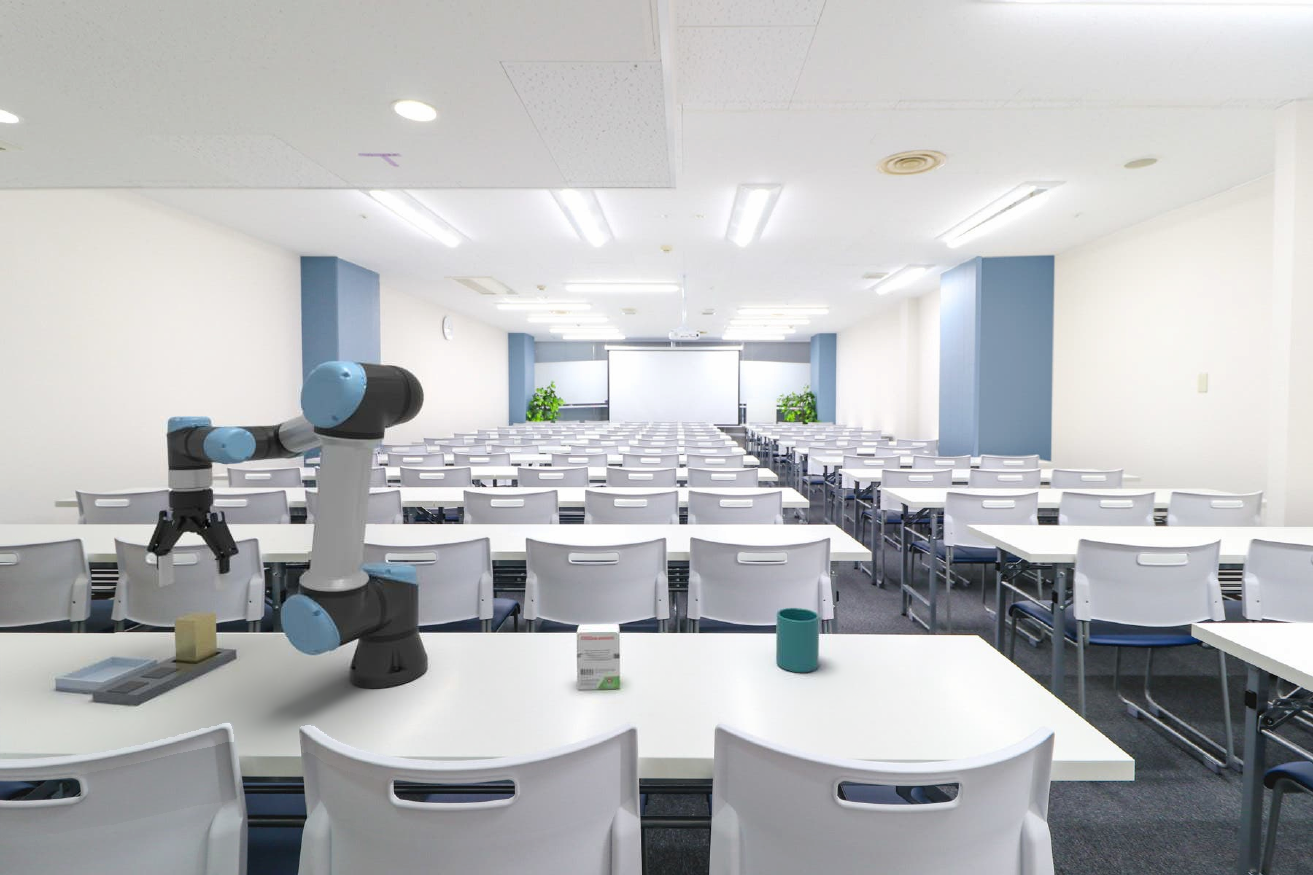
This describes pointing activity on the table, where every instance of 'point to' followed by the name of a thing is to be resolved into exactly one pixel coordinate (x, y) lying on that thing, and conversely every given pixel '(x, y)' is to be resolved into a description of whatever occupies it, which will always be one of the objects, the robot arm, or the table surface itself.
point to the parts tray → (101, 674)
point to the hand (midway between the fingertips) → (193, 586)
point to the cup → (797, 640)
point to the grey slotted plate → (158, 679)
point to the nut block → (195, 637)
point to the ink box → (598, 657)
